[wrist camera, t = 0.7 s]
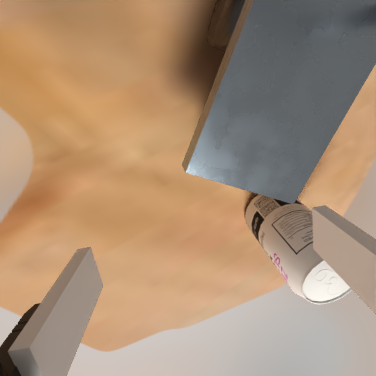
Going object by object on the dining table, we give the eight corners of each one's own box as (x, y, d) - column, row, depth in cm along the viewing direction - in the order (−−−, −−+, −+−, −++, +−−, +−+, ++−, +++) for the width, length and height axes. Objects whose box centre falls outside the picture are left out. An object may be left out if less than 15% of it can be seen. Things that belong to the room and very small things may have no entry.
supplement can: (302, 197, 41) (383, 261, 28) (272, 237, 43) (333, 314, 30) (262, 178, 38) (331, 239, 25) (233, 222, 41) (281, 299, 27)
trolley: (244, 178, 37) (427, 368, 14) (163, 152, 34) (228, 356, 10) (326, 10, 30) (1016, -185, 6) (234, -48, 26) (1098, -1019, 3)
